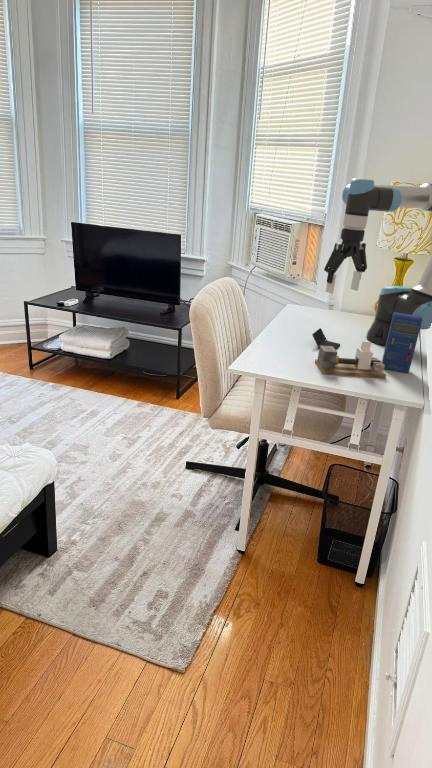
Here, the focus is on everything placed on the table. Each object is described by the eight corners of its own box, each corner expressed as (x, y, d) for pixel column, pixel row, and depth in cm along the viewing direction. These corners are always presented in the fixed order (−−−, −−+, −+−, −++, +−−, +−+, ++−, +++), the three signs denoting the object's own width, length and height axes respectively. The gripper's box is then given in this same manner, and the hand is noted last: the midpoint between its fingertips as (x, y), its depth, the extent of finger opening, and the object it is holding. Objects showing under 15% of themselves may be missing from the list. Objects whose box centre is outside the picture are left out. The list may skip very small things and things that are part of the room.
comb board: (374, 366, 189) (378, 347, 186) (385, 378, 179) (390, 358, 176) (314, 362, 187) (318, 343, 184) (322, 373, 177) (326, 353, 174)
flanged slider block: (364, 364, 185) (370, 339, 182) (369, 369, 181) (374, 344, 177) (353, 364, 185) (358, 339, 181) (357, 369, 180) (363, 343, 177)
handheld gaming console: (339, 349, 198) (327, 326, 198) (322, 358, 201) (309, 334, 200) (341, 345, 209) (329, 323, 209) (325, 353, 212) (313, 331, 211)
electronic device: (381, 369, 187) (394, 314, 179) (380, 364, 192) (393, 311, 184) (408, 374, 185) (423, 319, 177) (407, 369, 190) (421, 315, 182)
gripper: (367, 226, 185) (355, 286, 194) (320, 226, 170) (309, 291, 179) (385, 229, 180) (372, 291, 188) (338, 230, 165) (326, 296, 173)
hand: (341, 291), depth 184 cm, fingers open, 13 cm apart
